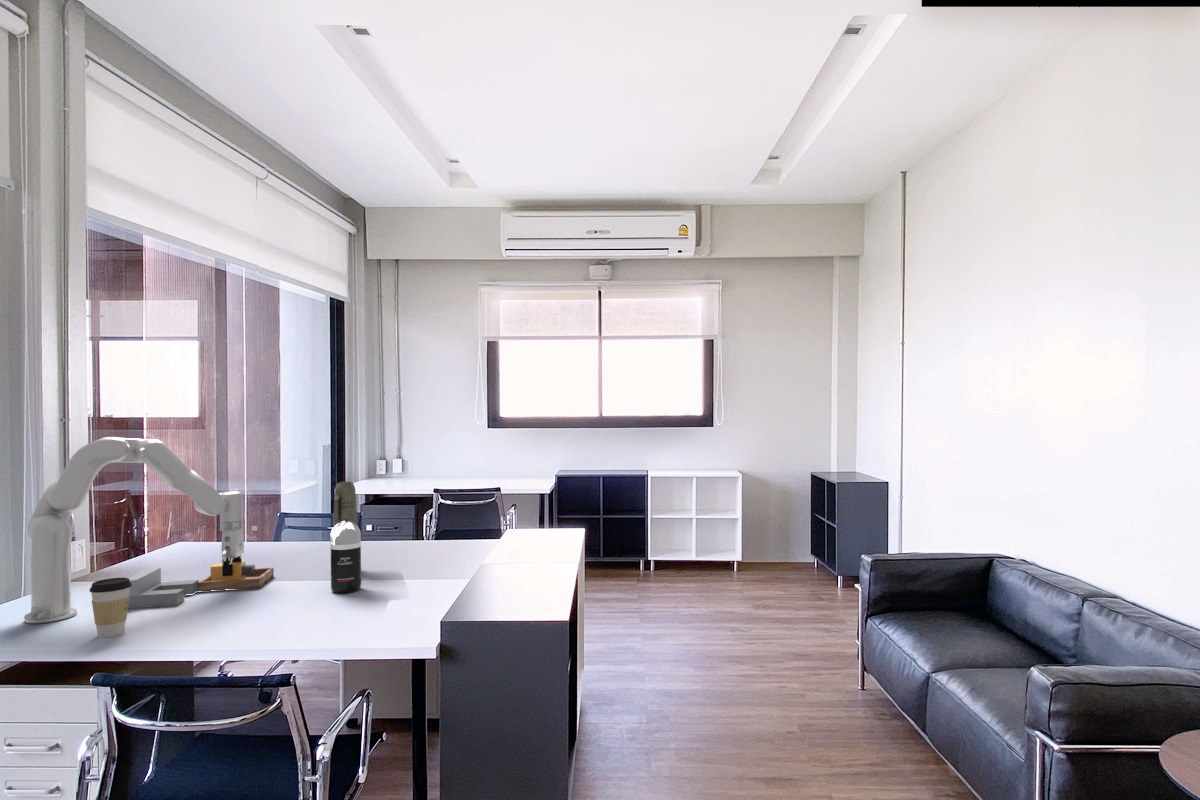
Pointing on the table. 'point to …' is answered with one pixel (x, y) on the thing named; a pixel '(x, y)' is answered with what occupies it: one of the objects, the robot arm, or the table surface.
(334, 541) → the spray bottle
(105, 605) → the coffee cup
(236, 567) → the orange wooden block
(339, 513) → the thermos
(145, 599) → the dock
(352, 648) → the table surface
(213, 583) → the tray
